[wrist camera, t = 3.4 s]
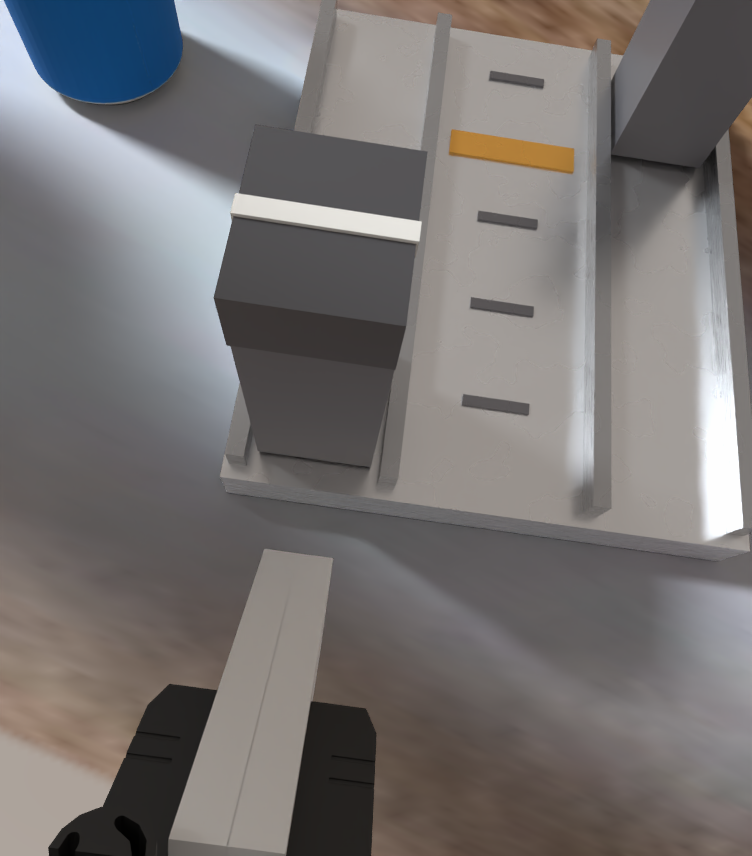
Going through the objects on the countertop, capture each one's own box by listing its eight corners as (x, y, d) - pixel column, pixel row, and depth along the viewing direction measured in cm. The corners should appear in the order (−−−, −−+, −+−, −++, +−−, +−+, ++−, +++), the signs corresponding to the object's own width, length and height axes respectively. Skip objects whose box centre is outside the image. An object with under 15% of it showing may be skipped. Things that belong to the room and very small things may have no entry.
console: (227, 492, 24) (215, 467, 22) (320, 45, 32) (320, -16, 29) (717, 561, 25) (768, 545, 22) (691, 105, 33) (726, 51, 30)
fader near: (255, 456, 23) (210, 294, 13) (278, 340, 24) (252, 120, 15) (371, 473, 23) (409, 324, 13) (386, 355, 24) (430, 148, 15)
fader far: (609, 157, 28) (754, -105, 19) (609, 79, 30) (743, -199, 20) (700, 172, 28) (889, -81, 19) (695, 93, 30) (868, -177, 21)
